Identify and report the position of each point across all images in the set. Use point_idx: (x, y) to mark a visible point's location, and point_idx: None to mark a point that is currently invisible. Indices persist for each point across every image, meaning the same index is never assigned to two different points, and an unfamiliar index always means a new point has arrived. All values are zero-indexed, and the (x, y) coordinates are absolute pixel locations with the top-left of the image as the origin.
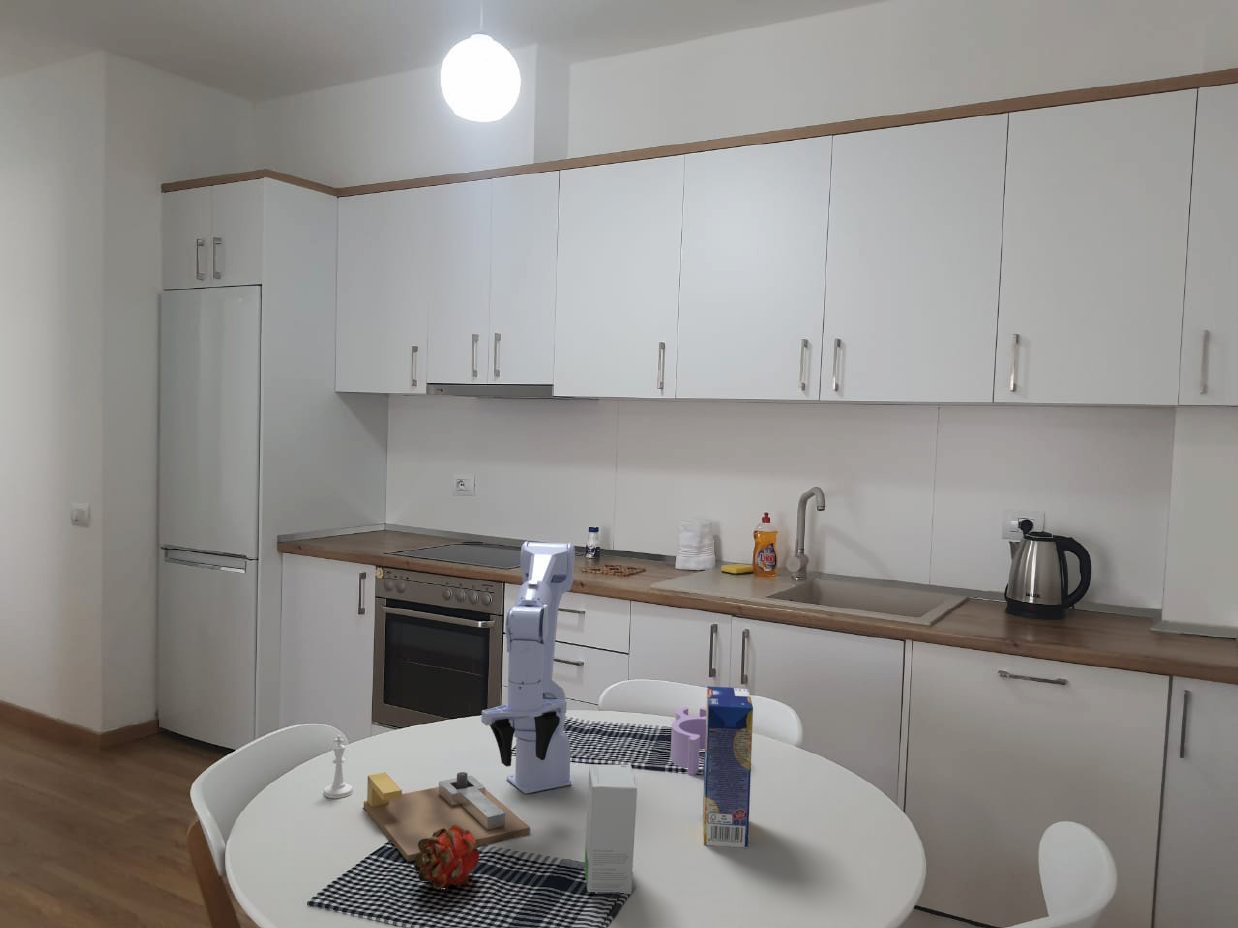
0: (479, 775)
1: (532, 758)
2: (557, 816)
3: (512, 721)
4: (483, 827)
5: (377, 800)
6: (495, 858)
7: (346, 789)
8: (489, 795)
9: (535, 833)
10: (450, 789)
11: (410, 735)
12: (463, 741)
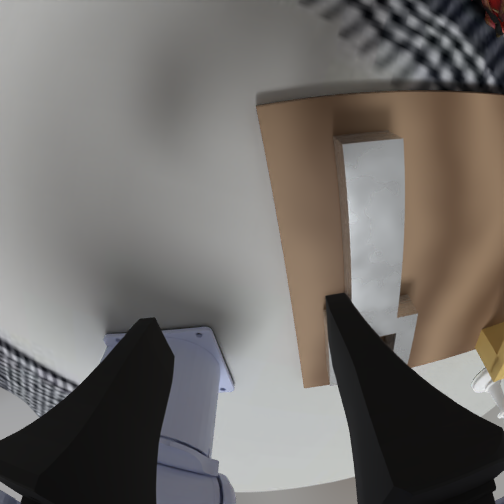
0: (279, 405)
1: (178, 398)
2: (152, 192)
3: (224, 499)
4: None
5: (501, 330)
6: (391, 5)
7: (489, 375)
8: (302, 326)
9: (240, 102)
10: (407, 334)
11: (323, 478)
12: (264, 468)
